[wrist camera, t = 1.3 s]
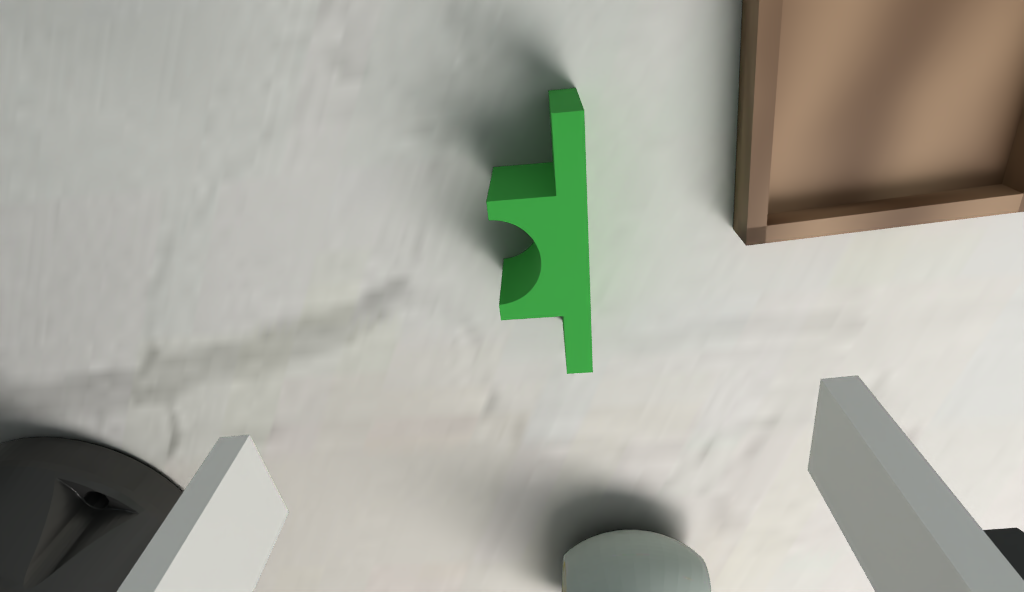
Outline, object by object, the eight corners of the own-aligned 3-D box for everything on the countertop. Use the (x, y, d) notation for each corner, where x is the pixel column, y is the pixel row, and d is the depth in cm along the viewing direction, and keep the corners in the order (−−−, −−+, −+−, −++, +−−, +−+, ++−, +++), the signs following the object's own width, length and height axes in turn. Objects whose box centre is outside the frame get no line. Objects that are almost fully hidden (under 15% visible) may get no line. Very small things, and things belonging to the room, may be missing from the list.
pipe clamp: (485, 95, 24) (475, 118, 20) (575, 86, 23) (584, 108, 19) (511, 324, 29) (507, 379, 25) (584, 319, 29) (593, 373, 25)
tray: (733, 229, 26) (746, 245, 24) (752, -257, 18) (774, -280, 16) (1007, 194, 25) (1039, 209, 23) (1160, -342, 17) (1225, -374, 15)
